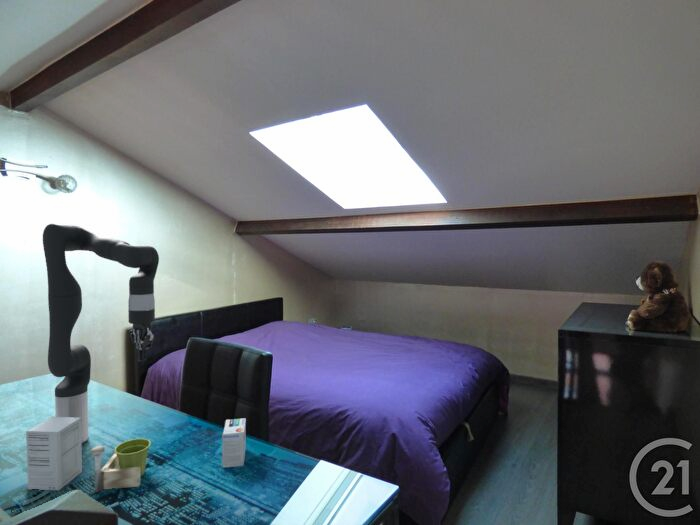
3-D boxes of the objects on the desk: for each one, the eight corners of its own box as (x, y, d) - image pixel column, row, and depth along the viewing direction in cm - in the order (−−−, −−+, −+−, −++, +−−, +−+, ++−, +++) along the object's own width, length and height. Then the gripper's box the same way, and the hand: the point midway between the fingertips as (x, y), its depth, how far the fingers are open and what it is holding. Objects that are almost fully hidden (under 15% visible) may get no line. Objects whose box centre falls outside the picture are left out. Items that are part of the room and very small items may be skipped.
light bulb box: (225, 450, 130) (225, 419, 130) (246, 448, 132) (246, 417, 131) (221, 468, 120) (221, 434, 120) (244, 466, 121) (244, 432, 121)
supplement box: (53, 470, 118) (52, 415, 117) (83, 471, 118) (82, 416, 117) (26, 490, 108) (24, 430, 108) (58, 491, 108) (57, 431, 107)
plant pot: (126, 465, 121) (126, 438, 121) (156, 465, 121) (156, 438, 121) (107, 483, 112) (107, 454, 111) (140, 484, 112) (140, 454, 111)
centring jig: (80, 484, 111) (80, 443, 111) (117, 468, 120) (117, 430, 119) (104, 503, 103) (103, 459, 103) (142, 484, 111) (141, 444, 111)
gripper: (119, 307, 127) (120, 359, 127) (140, 311, 119) (141, 367, 120) (142, 304, 133) (143, 354, 133) (164, 308, 125) (164, 361, 126)
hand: (142, 360), depth 127 cm, fingers closed
